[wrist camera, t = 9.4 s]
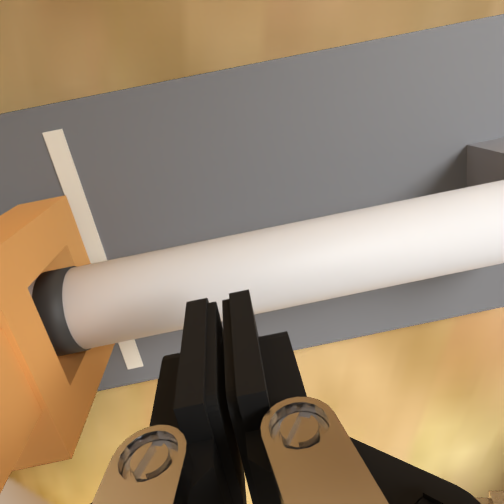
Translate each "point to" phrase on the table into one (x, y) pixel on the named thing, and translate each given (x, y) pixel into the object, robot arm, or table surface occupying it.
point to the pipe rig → (275, 195)
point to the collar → (40, 342)
